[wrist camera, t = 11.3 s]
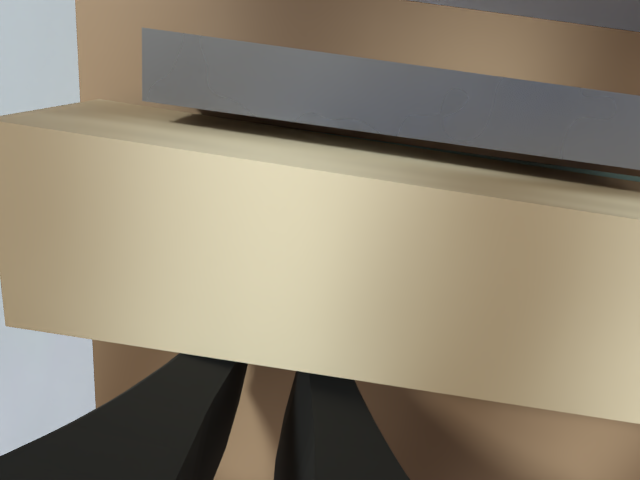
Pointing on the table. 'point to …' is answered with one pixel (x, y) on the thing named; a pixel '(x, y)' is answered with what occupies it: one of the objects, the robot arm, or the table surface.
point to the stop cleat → (391, 98)
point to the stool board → (410, 48)
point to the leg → (323, 255)
